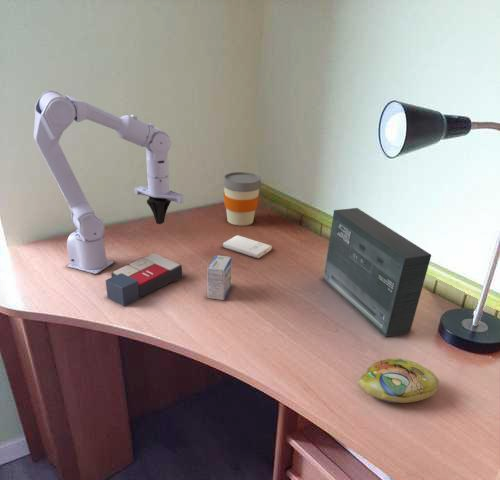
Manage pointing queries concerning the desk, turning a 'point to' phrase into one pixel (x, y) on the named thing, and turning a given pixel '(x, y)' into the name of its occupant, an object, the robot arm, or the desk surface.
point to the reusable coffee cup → (241, 197)
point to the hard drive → (247, 246)
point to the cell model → (399, 381)
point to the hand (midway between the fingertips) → (160, 222)
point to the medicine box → (219, 277)
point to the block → (122, 289)
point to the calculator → (151, 273)
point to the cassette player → (375, 270)
